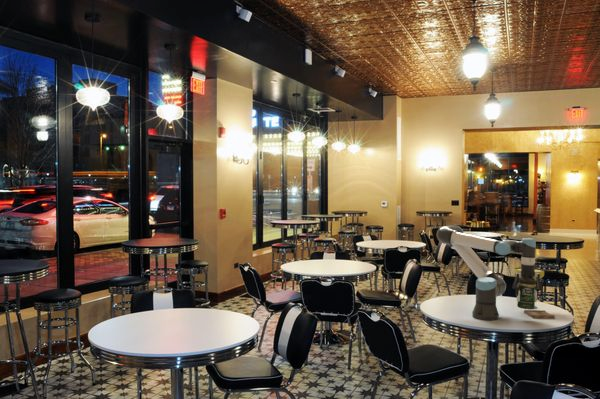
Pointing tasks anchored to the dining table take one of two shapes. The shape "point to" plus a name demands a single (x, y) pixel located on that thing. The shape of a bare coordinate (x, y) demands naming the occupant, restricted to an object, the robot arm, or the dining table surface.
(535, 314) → the walnut board
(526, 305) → the coffee jar
